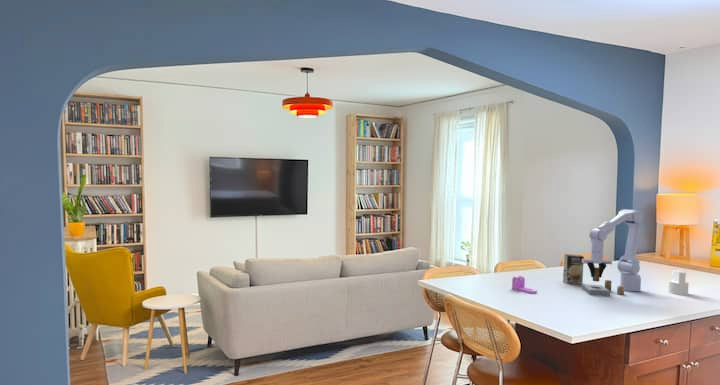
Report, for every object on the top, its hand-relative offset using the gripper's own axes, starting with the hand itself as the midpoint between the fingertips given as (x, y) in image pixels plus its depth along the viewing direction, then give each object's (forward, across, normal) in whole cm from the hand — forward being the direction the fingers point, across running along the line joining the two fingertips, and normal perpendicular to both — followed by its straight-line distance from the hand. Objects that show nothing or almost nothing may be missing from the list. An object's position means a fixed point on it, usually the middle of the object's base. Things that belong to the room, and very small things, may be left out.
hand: (596, 277), depth 259 cm
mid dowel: (+8, -8, -6) cm, 13 cm away
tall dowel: (+2, 0, 0) cm, 2 cm away
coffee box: (+8, +6, -22) cm, 24 cm away
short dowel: (+8, -12, +1) cm, 15 cm away
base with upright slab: (+8, -45, -10) cm, 47 cm away
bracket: (+8, +37, +7) cm, 39 cm away
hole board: (+8, 0, 0) cm, 8 cm away
